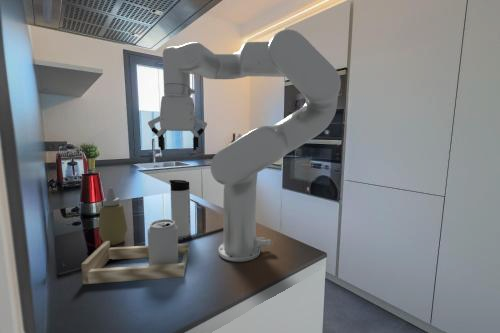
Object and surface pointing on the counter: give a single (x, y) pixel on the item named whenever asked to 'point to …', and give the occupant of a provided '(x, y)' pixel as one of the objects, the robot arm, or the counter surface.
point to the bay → (100, 257)
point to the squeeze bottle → (112, 220)
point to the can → (163, 242)
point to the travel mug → (181, 207)
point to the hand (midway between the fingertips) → (179, 150)
